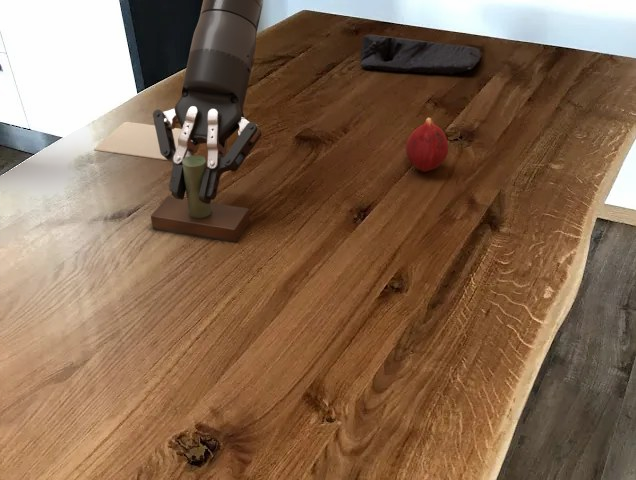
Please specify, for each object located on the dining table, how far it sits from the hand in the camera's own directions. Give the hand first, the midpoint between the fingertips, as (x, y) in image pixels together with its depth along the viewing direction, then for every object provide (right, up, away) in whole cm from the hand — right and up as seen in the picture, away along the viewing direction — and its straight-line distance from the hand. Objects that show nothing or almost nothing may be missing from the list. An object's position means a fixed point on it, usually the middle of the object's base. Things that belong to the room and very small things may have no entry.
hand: (191, 199), depth 87 cm
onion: (+30, +7, +18) cm, 36 cm away
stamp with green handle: (0, -3, +5) cm, 6 cm away
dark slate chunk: (+34, +34, +51) cm, 70 cm away
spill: (-12, +13, +26) cm, 31 cm away
